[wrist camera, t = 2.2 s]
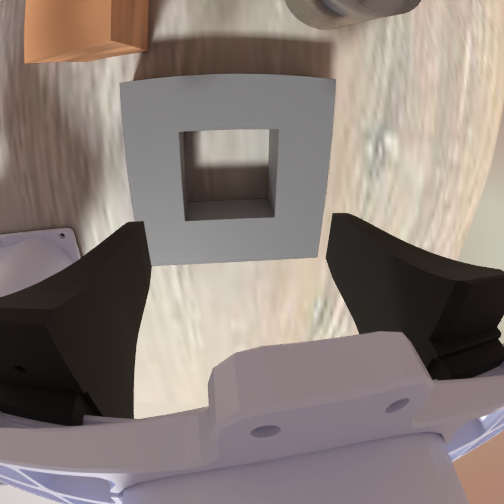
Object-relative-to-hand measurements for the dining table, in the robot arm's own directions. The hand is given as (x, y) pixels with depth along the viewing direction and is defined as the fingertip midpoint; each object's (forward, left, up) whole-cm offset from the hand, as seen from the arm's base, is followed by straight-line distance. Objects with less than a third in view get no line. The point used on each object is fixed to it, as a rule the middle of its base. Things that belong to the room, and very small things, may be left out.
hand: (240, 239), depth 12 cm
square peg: (-7, +10, -10) cm, 16 cm away
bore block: (0, 0, -10) cm, 10 cm away
